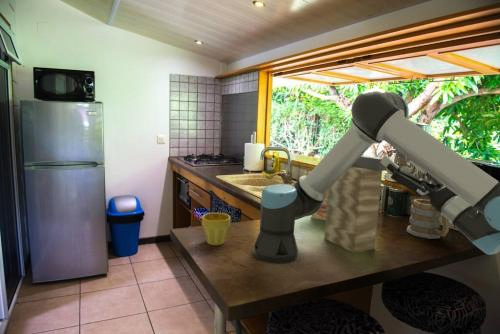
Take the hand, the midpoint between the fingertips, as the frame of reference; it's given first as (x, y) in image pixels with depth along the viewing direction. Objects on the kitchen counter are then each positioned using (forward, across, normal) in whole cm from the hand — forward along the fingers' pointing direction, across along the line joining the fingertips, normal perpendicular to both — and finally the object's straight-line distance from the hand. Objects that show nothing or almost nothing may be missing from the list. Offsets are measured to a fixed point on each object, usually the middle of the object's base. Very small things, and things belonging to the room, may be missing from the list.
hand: (397, 158), depth 106 cm
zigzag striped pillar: (-2, 0, -39) cm, 39 cm away
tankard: (-8, +39, -36) cm, 54 cm away
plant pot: (+15, -46, -49) cm, 69 cm away
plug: (+11, 0, -12) cm, 16 cm away
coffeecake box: (+23, +15, -54) cm, 60 cm away
